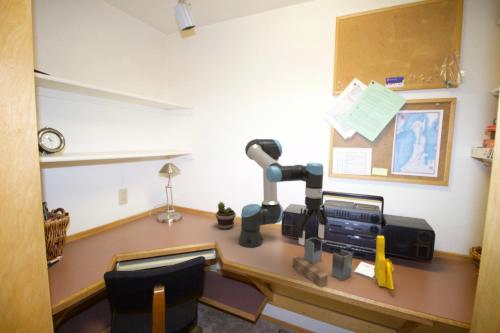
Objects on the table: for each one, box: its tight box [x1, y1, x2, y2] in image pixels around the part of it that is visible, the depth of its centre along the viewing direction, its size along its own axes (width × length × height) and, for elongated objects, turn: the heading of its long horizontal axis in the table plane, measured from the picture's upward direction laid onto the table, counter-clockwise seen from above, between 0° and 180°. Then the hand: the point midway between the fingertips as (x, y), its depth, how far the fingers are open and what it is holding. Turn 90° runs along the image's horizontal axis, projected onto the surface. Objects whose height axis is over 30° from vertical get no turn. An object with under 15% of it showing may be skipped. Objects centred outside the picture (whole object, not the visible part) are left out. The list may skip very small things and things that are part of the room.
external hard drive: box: [353, 261, 375, 280], centre depth 116 cm, size 2×8×12 cm
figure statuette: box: [374, 235, 395, 290], centre depth 105 cm, size 18×8×22 cm, turn 161°
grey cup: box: [331, 249, 354, 281], centre depth 111 cm, size 6×7×11 cm
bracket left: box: [303, 236, 323, 265], centre depth 126 cm, size 6×7×11 cm
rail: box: [291, 255, 328, 288], centre depth 112 cm, size 19×4×5 cm, turn 30°
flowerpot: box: [215, 200, 237, 230], centre depth 171 cm, size 14×15×20 cm
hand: (311, 240), depth 110 cm, fingers open, 13 cm apart
